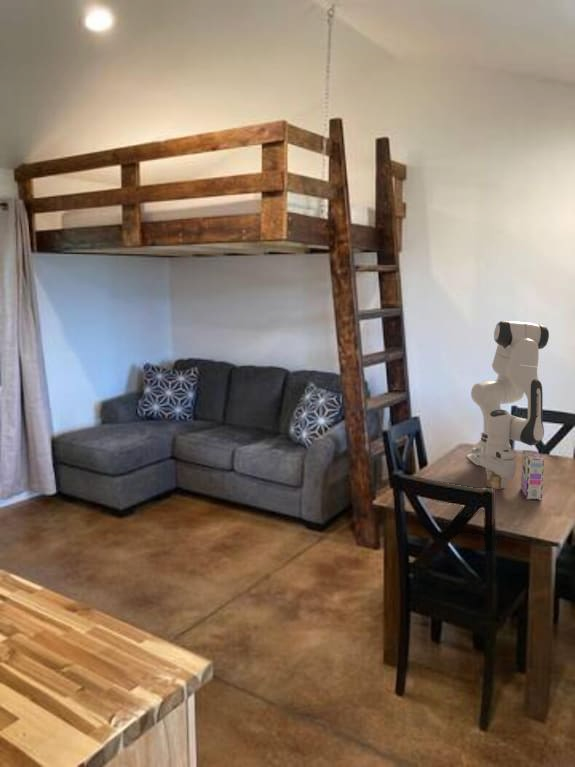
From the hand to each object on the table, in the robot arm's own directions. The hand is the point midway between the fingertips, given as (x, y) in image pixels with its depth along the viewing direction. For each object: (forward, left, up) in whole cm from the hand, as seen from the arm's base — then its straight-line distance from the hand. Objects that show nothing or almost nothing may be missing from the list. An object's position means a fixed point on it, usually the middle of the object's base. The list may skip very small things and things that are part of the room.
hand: (496, 482), depth 255 cm
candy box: (+12, +8, -2) cm, 15 cm away
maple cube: (0, 0, -2) cm, 2 cm away
